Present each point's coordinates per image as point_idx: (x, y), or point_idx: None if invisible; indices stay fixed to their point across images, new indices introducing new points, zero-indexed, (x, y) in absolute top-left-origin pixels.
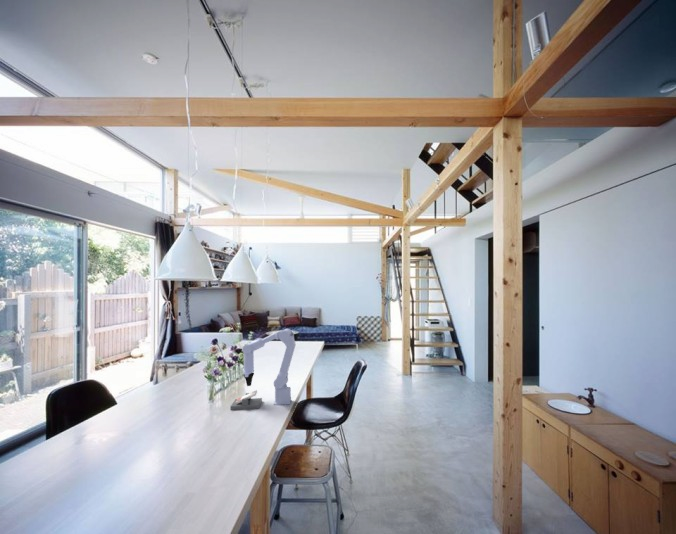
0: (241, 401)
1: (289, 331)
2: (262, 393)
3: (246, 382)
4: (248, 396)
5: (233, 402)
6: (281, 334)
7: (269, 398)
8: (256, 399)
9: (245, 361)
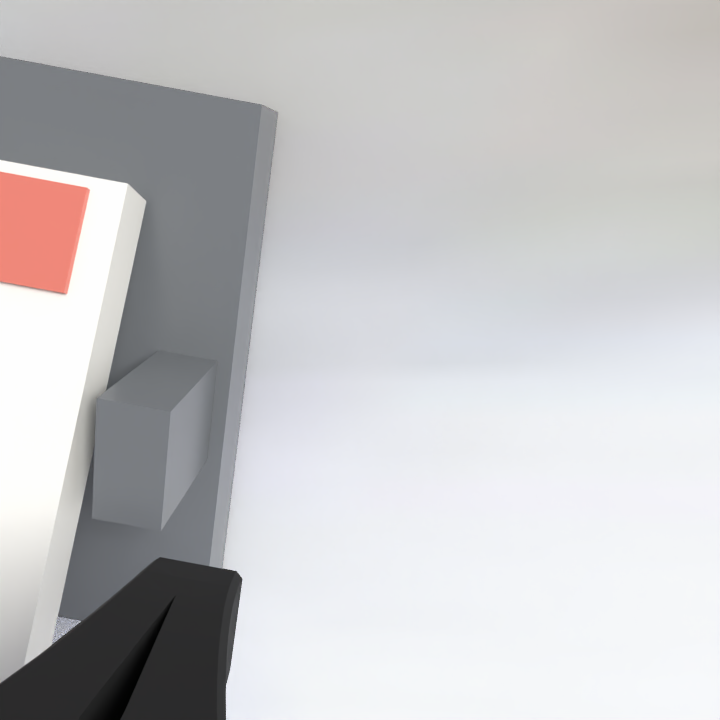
0: None
1: None
2: (653, 621)
3: (46, 650)
4: None
5: (50, 74)
6: None
7: (345, 702)
8: (148, 554)
9: None
